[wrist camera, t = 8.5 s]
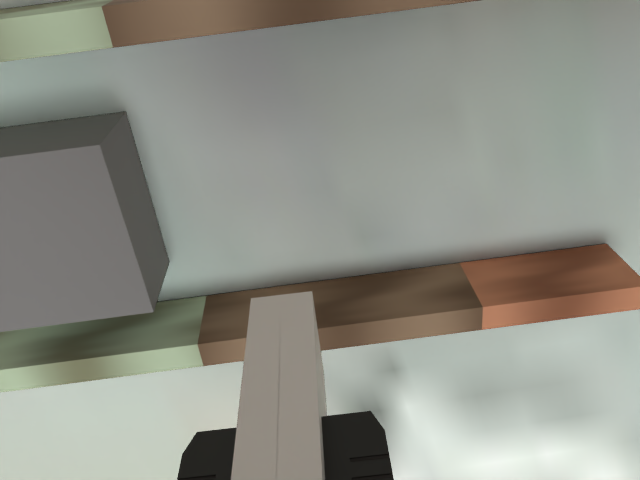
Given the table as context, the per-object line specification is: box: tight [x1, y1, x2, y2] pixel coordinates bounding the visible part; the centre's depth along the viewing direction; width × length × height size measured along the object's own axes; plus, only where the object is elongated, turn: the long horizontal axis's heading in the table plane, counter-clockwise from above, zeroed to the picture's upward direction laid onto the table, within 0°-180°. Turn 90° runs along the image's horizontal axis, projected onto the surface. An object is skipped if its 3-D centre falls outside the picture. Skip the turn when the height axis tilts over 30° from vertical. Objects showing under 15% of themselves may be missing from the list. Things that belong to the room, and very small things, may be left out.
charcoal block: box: [0, 112, 169, 332], centre depth 22 cm, size 7×7×4 cm
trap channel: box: [0, 0, 640, 392], centre depth 21 cm, size 39×14×5 cm, turn 96°
